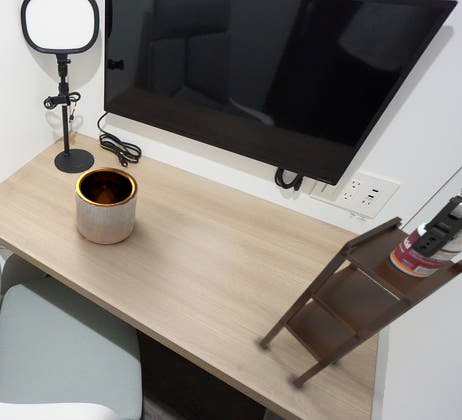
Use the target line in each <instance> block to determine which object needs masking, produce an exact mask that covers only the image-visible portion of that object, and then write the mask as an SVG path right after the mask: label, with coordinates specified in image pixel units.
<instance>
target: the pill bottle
mask: <svg viewBox="0 0 462 420" xmlns="http://www.w3.org/2000/svg"><path fill="white" fill-rule="evenodd" d="M436 215H437V214H435V215H434V216H433V217H432V218H430V219H429V220H428V222H424V223H421V224H419V225H418V226H417V227H416V228H415V229H414V230H413V231H411V232H410V234H409V236H408V237H407V238H406V239H405V240H404V241H403V242H402V243H400V244H399V245H398V246H397V247H396V248H395V249H394V250H393V251H392V252H391V254H390V258H391V261H392V262H393V264H394V265H395V266H396V267H398V268H399V269H400V270H402V271H403V272H405V273H407V274H409V275H412V276H416V277H427V276H429V275H431V274H432V273H434V272H435V271H436V270H437V269H439V268H440V267H441V266H443V265H444V264H445V263H447V262H448V261H449V260H451V261H452V259H453V258H455V257H456V256H457V255H459V254H460V253H462V234H460V235H459V238H457V239H456V240H455V239H454V240H453V241H450V242H449V243H448V244H447V245H445V246H444V247H443V248H442V249H441V250H439V251H438V252H437V253H436V254H434V255H433V256H431V257H430V258H426V257H423V256H422V255H420V254H419V253H417V252H416V251H414V250H413V249H412V248H411V245H412V244H413V243H414V242H415V241H416V240H417V239H419V238H420V237H421V236H422V235H423V234H424V233H425V232H426V230H424V229H423V228H424V227H425V225H426V224H427V223H429V222H430V221H431V220H432V219H433V218H434V217H435V216H436ZM444 225H445V224H444ZM446 226H447V225H446Z"/></svg>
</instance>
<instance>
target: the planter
mask: <svg viewBox="0 0 462 420" xmlns="http://www.w3.org/2000/svg"><path fill="white" fill-rule="evenodd" d="M138 191H139V186H138V183H137V180H136V179H135V177H134V176H133V175H131V173H129V172H127V171H125V170H124V169H121V168H115V167H108V166H107V167H106V166H105V167H104V166H103V167H96V168H93V169H90V170H87V171H85V172H84V173H82V174H81V175H80V176H79V177H78V178H77V180H76V181H75V184H74V192H75V193H74V194H75V216H76V217H75V218H76V219H75V221H76V227H77V230H78V231H79V232H80V235H82V237H84V238H85V239H87V240H88V241H90V242H93V243H95V244H101V245H111V244H117V243H119V242H121V241H124V240H125V239H126V238H128V237H129V236H130V235H131V233H132V231H133V230H134V226H135V219H136V211H137V201H138V193H139V192H138Z"/></svg>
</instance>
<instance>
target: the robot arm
mask: <svg viewBox="0 0 462 420" xmlns="http://www.w3.org/2000/svg"><path fill="white" fill-rule="evenodd" d="M435 215H436V216H435ZM435 215H434V216H435V217H434V216H433V217H434V218H433V217H432V218H433V219H432V218H431V219H432V220H431V219H430V220H431V221H430V220H429V221H430V222H429V221H428V222H429V223H427V222H426V223H427V224H426V225H425V227H424V228H423V229H424V230H426V232H425V233H424V234H423V235H422V236H421V237H420V238H419V239H417V240H416V241H415V242H414V243H413V244H412V245H411V248H412V249H413V250H414V251H416V252H417V253H419V254H420V255H422V256H423V257H426V258H430V257H431V256H433V255H434V254H436V253H437V252H438V251H439V250H441V249H442V248H443V247H444V246H445V245H447V244H448V243H449V242H450V241H453V240H454V239H455V240H456V239H457V238H459V235H460V234H462V187H461V188H460V192H459V193H458V194H457V195H456V196H452V197H451V198H450V199H448V202H447V203H446V204H445V205H444V206H443V207H442V208H441V209H440V210H439V211H438V212H437V213H436V214H435ZM444 224H445V225H444ZM446 225H447V226H446Z"/></svg>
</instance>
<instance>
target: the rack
mask: <svg viewBox="0 0 462 420" xmlns="http://www.w3.org/2000/svg"><path fill="white" fill-rule="evenodd" d="M402 221H403V218H401V217H399V216H397V215H396V216H395V217H393V218H391V219H389V220H387V221H385V222H383V223H381V224H379V225H377V226H375V227H373V228H371V229H369V230H367V231H365V232H364V233H361V234H360V235H357V236H356V237H354V238H352V239H350V240H348V241H346V242H345V243H344V245H343V246H342V247H341V248H340V249H339V250H338V251H337V252H336V254H335V255H334V256H333V257H332V258H331V260H330V261H329V262H328V263H327V264H326V266H324V267H323V269H322V270H321V272H319V274H318V275H317V276H316V277H315V278H314V279H313V280H312V282H311V283H310V284H309V285H308V286H307V287H306V288H305V290H303V292H302V293H301V294H300V295H299V296H298V298H297V299H296V300H295V301H294V302H293V304H292V305H291V306H290V307H289V308H288V309H287V310H286V312H284V314H283V315H282V316H281V318H280V319H279V320H278V321H277V322H276V323H275V324H274V325H273V327H272V328H271V329H270V330H269V331H268V332H267V334H265V336H264V337H263V338H262V339H261V341H260V342H259V343H258V345H259V346H260V347H261V349H265V348H267V347H268V345H270V343H271V342H272V341H273V340H274V339H275V338H276V337H277V336H278V335H279V334H280V333H281V331H282V330H283V329H284V328H285V329H286V330H287V332H289V333H290V334H291V336H292V337H293V338H294V339H295V340H296V341H297V342H298V343H299V344H300V345H301V346H302V347H303V348H304V349H305V350H306V352H308V353H309V354H310V355H311V356H312V358H314V360H316V361H317V363H316V364H314V365H313V366H311V367H310V368H309V369H307V370H306V371H305V372H303V373H301V375H299V376H298V377H297V378H296V379H294V380H293V381H292V382H291V383H292V384H293V385H294V387H295V388H296V389H297V388H298V389H299V387H301V386H302V385H304V384H305V383H307V382H308V381H310V380H311V379H313V377H315V376H317V374H319V373H320V372H322V371H324V370H325V369H326V368H327V367H329V366H330V365H334V364H335V363H337V362H338V361H340V360H341V359H342V358H344V357H345V356H347V355H348V354H349V353H351V352H352V351H354V350H355V349H356V348H358V347H359V346H361V345H362V344H363V343H365V342H367V341H368V340H369V339H370V338H372V337H374V336H375V335H376V334H377V333H379V332H381V331H382V330H383V329H385V328H386V327H388V326H389V325H391V324H392V323H393V322H396V320H398V319H399V318H400V317H402V316H403V315H405V314H406V313H407V312H409V311H410V310H412V309H413V308H415V307H416V306H417V305H419V304H420V303H422V302H423V301H424V300H426V299H427V298H429V297H430V296H432V295H433V294H435V292H437V291H438V290H440V289H441V288H443V287H444V286H445V285H447V284H448V283H449V282H451V281H453V280H454V279H456V278H457V277H458V276H460V275H461V274H462V259H459V260H458V261H456V262H454V261H453V260H452V259H451V260H449V261H448V262H447V263H445V264H444V265H443V266H441V267H440V268H439V269H437V270H436V271H435V272H434V273H432V274H431V275H429V276H427V277H416V276H412V275H409V274H407V273H405V272H403V271H402V270H400V269H399V268H398V267H396V266H395V265H394V264H393V262H392V261H391V258H390V254H391V252H392V251H393V250H394V249H395V248H396V247H397V246H398V245H399V244H400V243H402V242H403V241H404V240H405V239H406V238H407V237H408V236H409V235H410V234H409V233H407V232H406V231H404V230H403V229H401V228H400V227H402V226H403V223H402ZM346 261H348V262H349V264H348V265H347V266H345V267H343V268H342V269H340V270H339V268H340V267H341V266H343V264H344V263H345V262H346ZM311 299H312V300H311ZM310 300H311V301H310Z"/></svg>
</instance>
